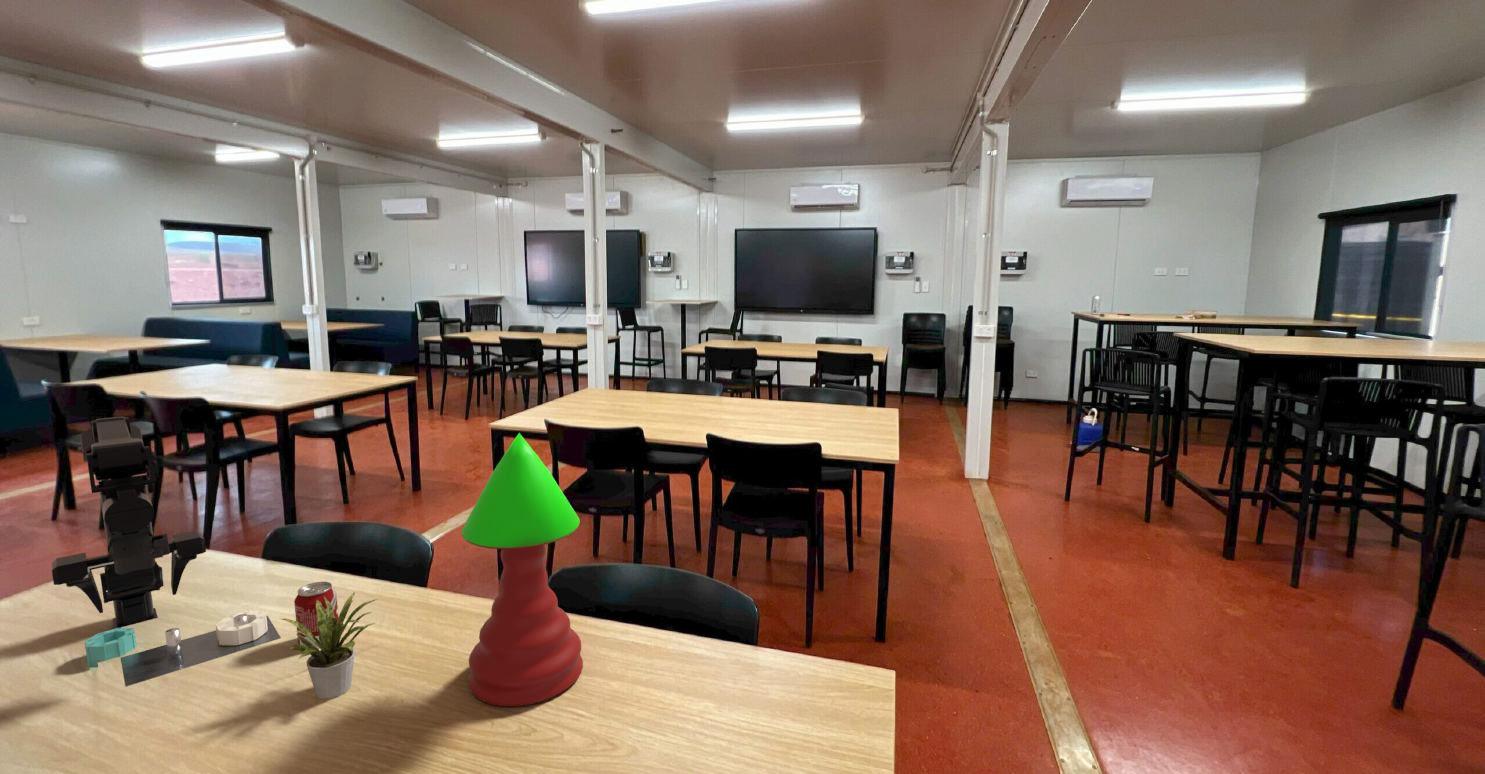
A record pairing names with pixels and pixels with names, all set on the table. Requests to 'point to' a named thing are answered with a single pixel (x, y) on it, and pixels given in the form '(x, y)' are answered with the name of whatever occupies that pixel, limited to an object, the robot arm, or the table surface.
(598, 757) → the table surface
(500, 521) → the table lamp
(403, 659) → the table surface
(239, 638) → the cream gear
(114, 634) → the teal blocky piece
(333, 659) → the house plant
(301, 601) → the soda can
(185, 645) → the gear board
